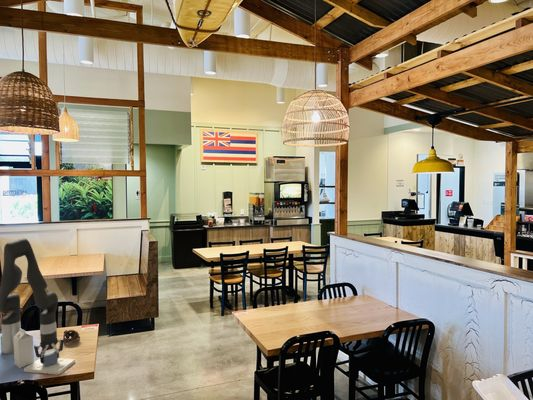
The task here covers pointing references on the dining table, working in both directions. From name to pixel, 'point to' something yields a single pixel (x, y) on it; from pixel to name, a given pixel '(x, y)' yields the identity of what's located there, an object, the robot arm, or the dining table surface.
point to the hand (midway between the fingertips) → (49, 361)
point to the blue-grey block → (50, 357)
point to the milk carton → (23, 348)
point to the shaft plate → (50, 366)
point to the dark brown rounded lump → (73, 335)
